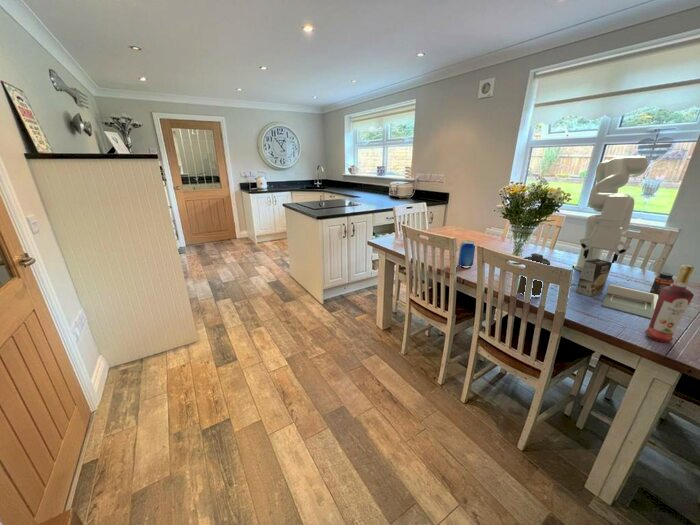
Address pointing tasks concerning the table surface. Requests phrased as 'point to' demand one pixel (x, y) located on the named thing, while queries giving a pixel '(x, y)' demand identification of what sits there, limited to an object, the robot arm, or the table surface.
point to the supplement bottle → (661, 282)
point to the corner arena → (630, 301)
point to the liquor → (670, 307)
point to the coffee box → (593, 277)
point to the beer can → (466, 253)
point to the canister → (536, 284)
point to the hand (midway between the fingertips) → (598, 260)
